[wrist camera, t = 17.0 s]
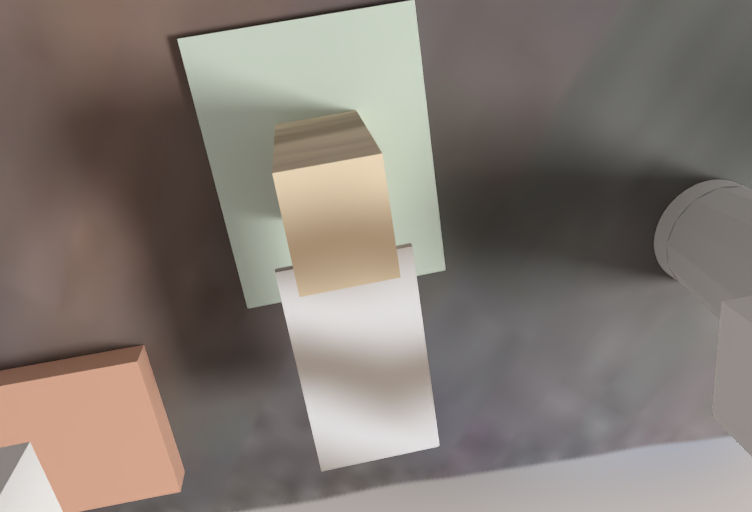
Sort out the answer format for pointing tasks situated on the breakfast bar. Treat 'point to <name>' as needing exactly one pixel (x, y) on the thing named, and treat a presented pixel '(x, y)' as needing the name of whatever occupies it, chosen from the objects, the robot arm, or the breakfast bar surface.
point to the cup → (708, 241)
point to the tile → (93, 427)
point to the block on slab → (350, 295)
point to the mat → (309, 100)
